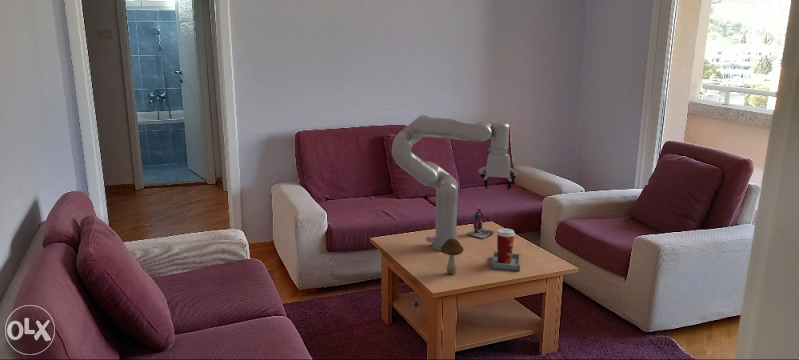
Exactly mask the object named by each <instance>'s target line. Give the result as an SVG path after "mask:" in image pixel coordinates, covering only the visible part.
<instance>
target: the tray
mask: <svg viewBox="0 0 799 360" xmlns="http://www.w3.org/2000/svg"><path fill="white" fill-rule="evenodd" d="M521 259H522V254H521V253H516V252H515V253H513V252H512V258H511V263H510V264H503V263H498V255H497V251H492V255H491V258H490V262H489V263H490V266H489V269H490V270H500V271H511V272H513V271H514V272H520V271H521V270H520V269H521V261H522V260H521Z"/></svg>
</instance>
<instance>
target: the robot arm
mask: <svg viewBox="0 0 799 360" xmlns="http://www.w3.org/2000/svg"><path fill="white" fill-rule="evenodd" d="M423 137H425V138H437V139H439V138H442V139H449V140H450V139H451V140H459V141H466V142H479V143H482V142H487V141H488V140H490V147H487V152H489V153H488V155H487V160H486V161H487V162H486V166H483V167H480V168H479V169H478V173H479V175H480V177H481V178H482V179H483V180H484V181H483V183H484V184H483V186H484V188H485V190H487V189H488V185H489V179H488V178H502V179H503V178H505V179H507V191H510V189H511V188H512V182H513V181H514V180H515V179H516V177H517V176H518V174H519V171H518V170H516V169H514V168H513V167H511V156H510V154H509V138H510V125H509V124H508V123H506V122H502V121H501V122H489V121H486V120H485V121H484V120H482V121H481V120H480V121H479V122H477V123H467V122H462V121H459V120H456V119H452V118H444V117H443V118H442V117H441V118H440V117H430V116H429V115H424V114H422V115H419V116H418V117H417V118H415V119H414V120H413V121H411V122H410V123H408V125H406V126H405V128H403V129H402V130H401V131H399V132H398V133H397V135H396V136H395V137H394V138H393V140H392V141H393V142H392V144H391V156H392V159H393V160H394V162H395V163H396V165H398V166H399V167H400V168H401V169H402V170H404V171H405V172H406V173H407V174H408V175H410V176H411V177H413V179H414V180H416V181H417V182H419V183H420V184H421V185H423V186H426V187H432V188H433V189H435V233H434V234H435V235H434V236H426V237H425V241H426V242H427V243H431V247H432V249H433V250H435V251H440V252H442V251H441V246H442V245H444V243H445V242H446V241H447V240H448V239H451V238H453V239H456V240H457V227H458V226H457V222H458V197H459V196H458V195H459V184H458V181H457V180H456V178H454V177H453V175H452V174H450V173H449V172H447V171H445V170H444V168H442V167H441V166H439V165H438V164H436V163H435V162H431V161H424V160H423V159H421V158H420V157H419V155H416V154H414V153H413V151H412V147H413V146H414V145H415V144H416V143H417V142H419V141H420V140H421V139H423ZM485 170H486V171H485ZM483 171H485V173H486V174H485V173H484V172H483ZM511 172H512V173H513V175H512V176H511Z"/></svg>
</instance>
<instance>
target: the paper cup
mask: <svg viewBox="0 0 799 360" xmlns="http://www.w3.org/2000/svg"><path fill="white" fill-rule="evenodd" d="M515 236H516V233H515V230H513V229H512V228H498V229H497V232H496V238H497V240H496V243H497V247H496V248H497V250H496V252H497V255H498V263H503V264H510V263H511V258H512V253H513V248H514V241H515Z"/></svg>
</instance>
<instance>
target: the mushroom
mask: <svg viewBox="0 0 799 360" xmlns="http://www.w3.org/2000/svg"><path fill="white" fill-rule="evenodd" d="M464 249H465V248H464V247H463V246H462V244H461V243H460V241H459V240H458V239H457V238H456V239H453V238H451V239H448V240H447V241H446V242H445V243H444V245H442V246H441V251H440V252H442V253H443V254H445V255H447V256H449V259H448V262H447V265H446V272H447V274H449V275H454V274H456V273H457V266H456V265H457V264H456V260H455V256H458V255H462V254H463V252H464Z"/></svg>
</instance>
